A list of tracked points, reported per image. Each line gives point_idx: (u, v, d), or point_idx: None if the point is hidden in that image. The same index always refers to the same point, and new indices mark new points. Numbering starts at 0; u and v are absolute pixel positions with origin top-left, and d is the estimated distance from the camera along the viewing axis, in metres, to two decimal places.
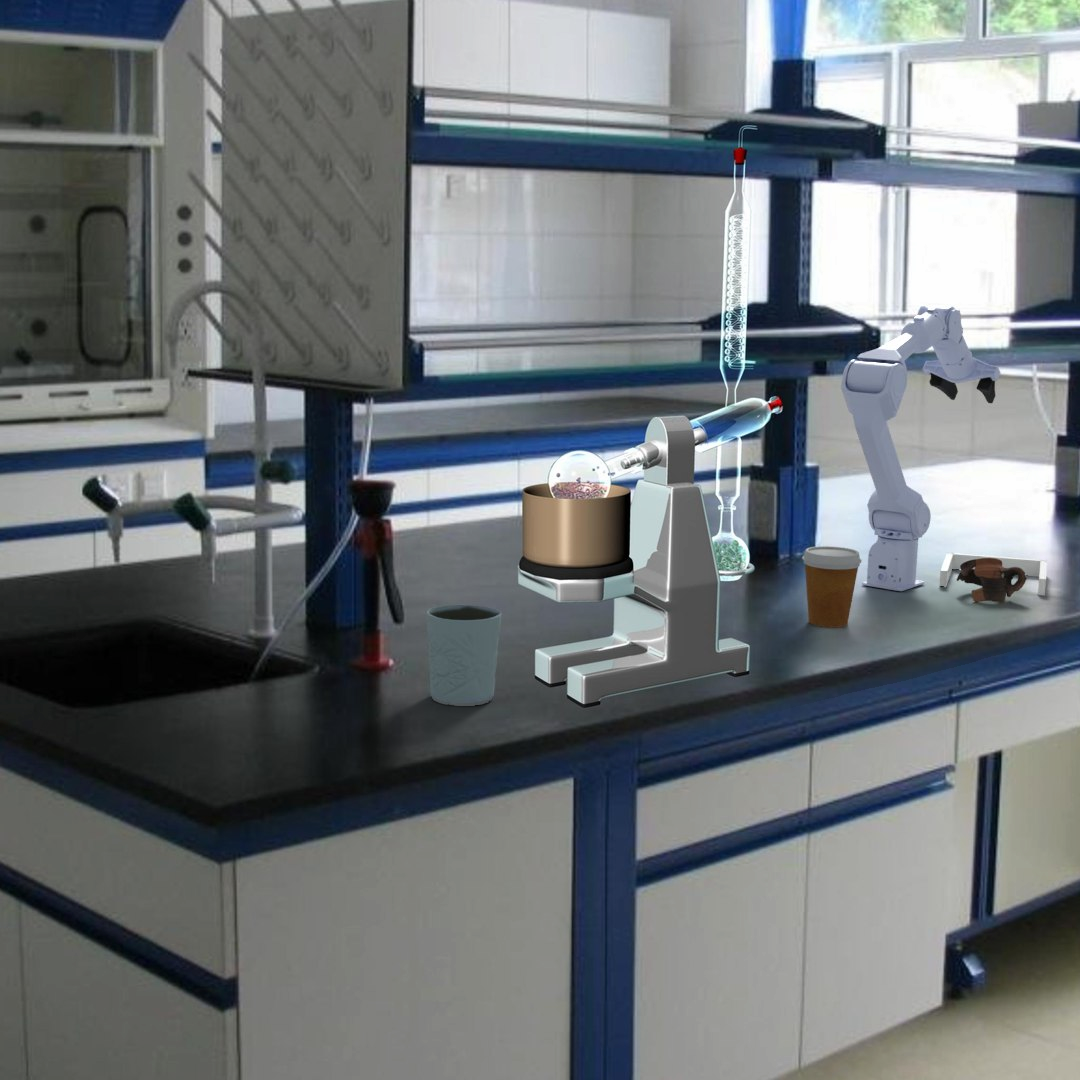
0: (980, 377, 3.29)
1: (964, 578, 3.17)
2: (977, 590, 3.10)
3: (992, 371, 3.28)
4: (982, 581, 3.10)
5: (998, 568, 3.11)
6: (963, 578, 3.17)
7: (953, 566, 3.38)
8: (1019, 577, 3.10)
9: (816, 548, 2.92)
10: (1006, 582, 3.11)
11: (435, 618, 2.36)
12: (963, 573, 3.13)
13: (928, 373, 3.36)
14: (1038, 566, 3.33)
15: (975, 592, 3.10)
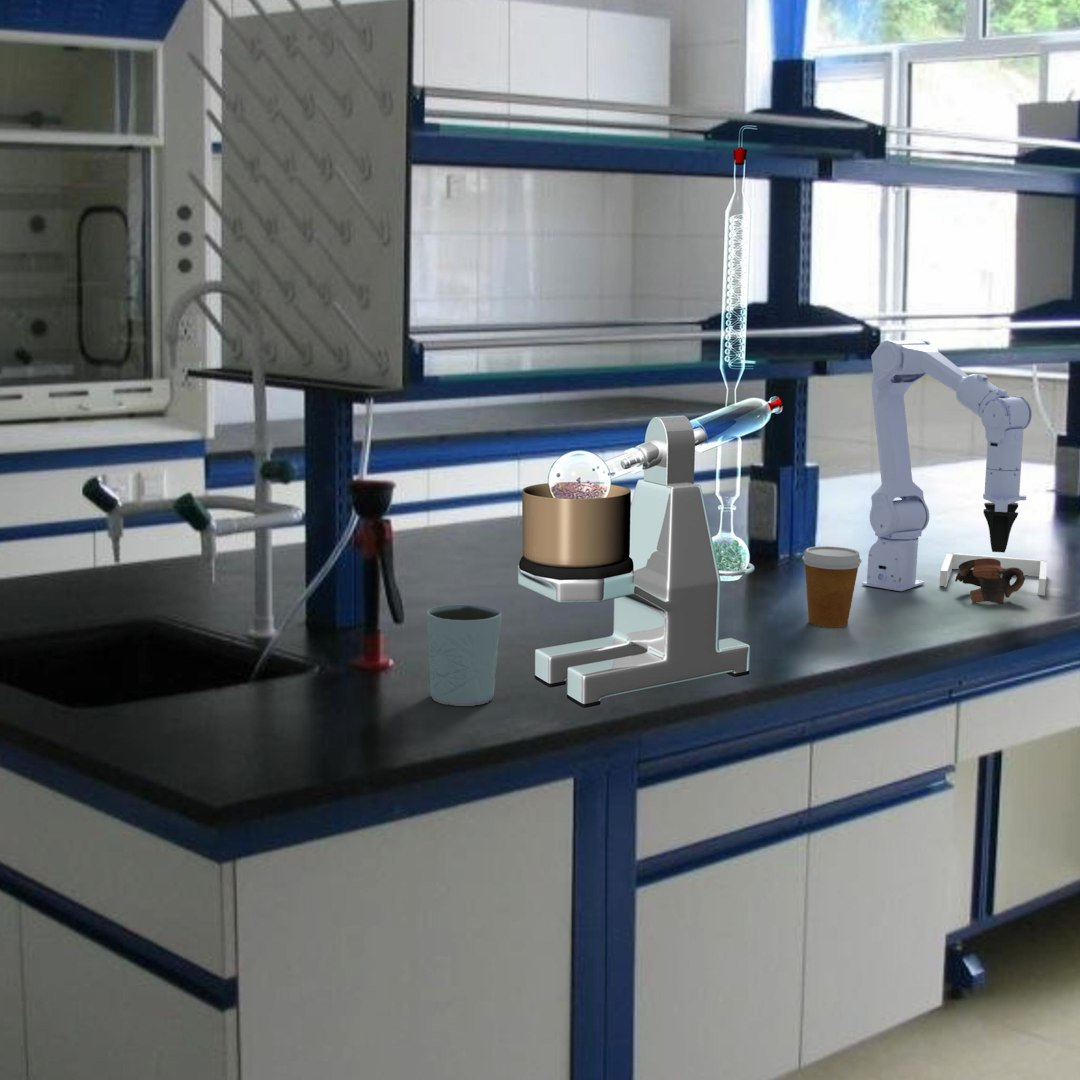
0: (991, 500, 2.97)
1: (962, 579, 3.17)
2: (976, 591, 3.10)
3: None
4: (981, 582, 3.10)
5: (997, 568, 3.11)
6: (961, 579, 3.17)
7: (953, 566, 3.38)
8: (1018, 577, 3.10)
9: (816, 548, 2.92)
10: (1005, 583, 3.10)
11: (435, 618, 2.36)
12: (961, 574, 3.12)
13: None
14: (1038, 566, 3.33)
15: (973, 593, 3.10)
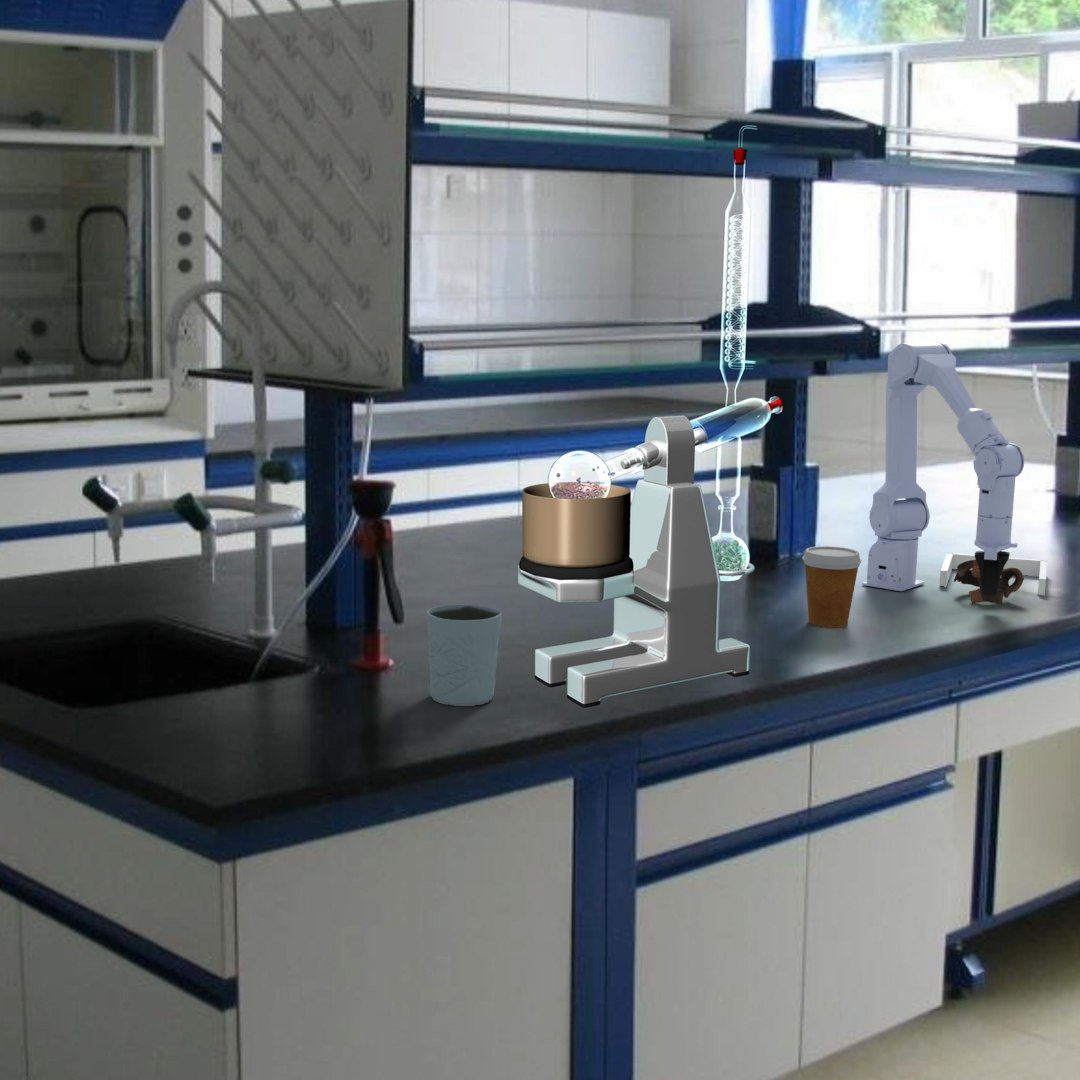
0: (981, 547, 2.98)
1: (961, 579, 3.17)
2: (974, 591, 3.09)
3: None
4: (979, 582, 3.09)
5: None
6: (960, 579, 3.16)
7: (953, 566, 3.38)
8: (1017, 577, 3.10)
9: (816, 548, 2.92)
10: (1003, 583, 3.10)
11: (435, 618, 2.36)
12: (960, 574, 3.12)
13: None
14: (1038, 566, 3.33)
15: (972, 593, 3.09)
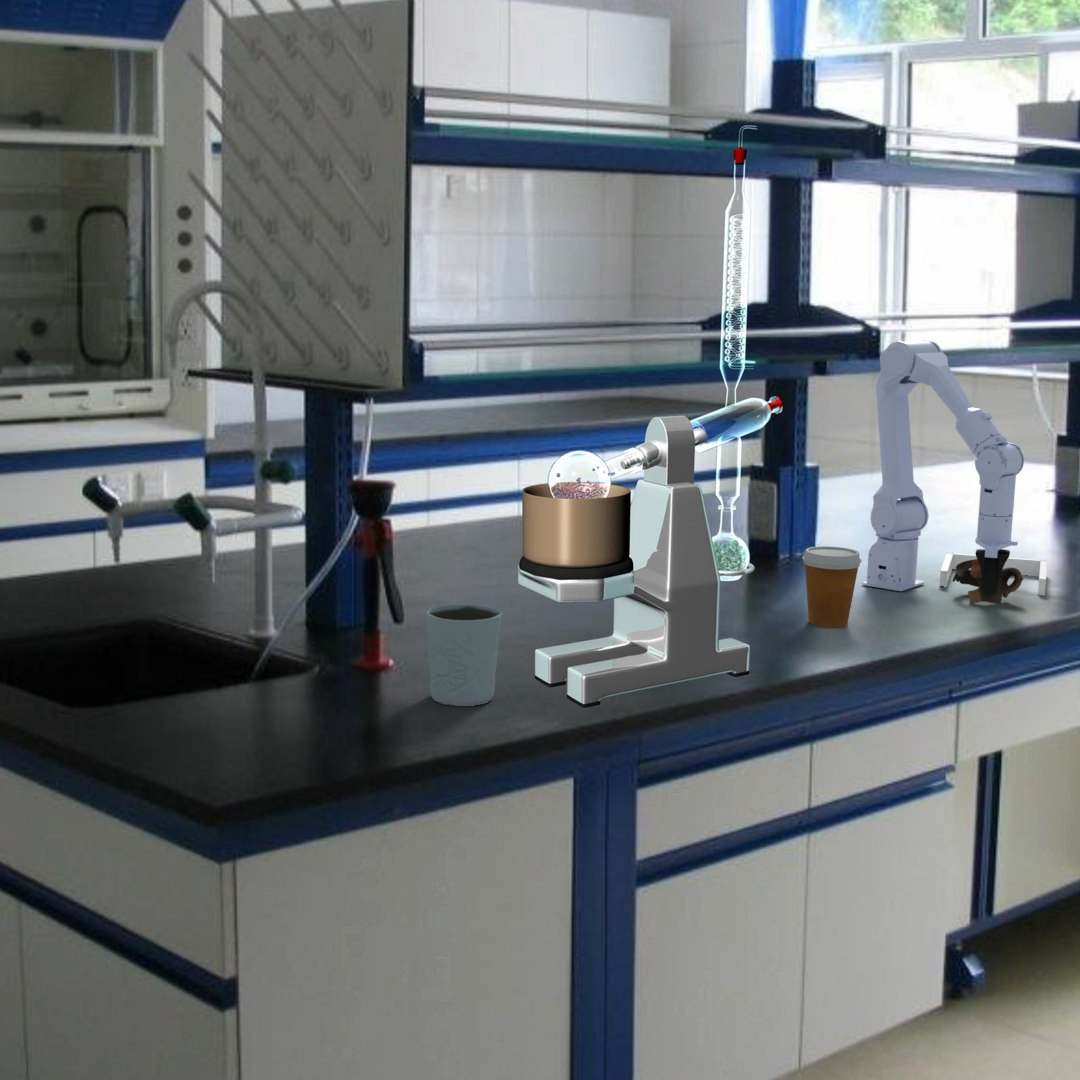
0: (982, 545, 3.02)
1: (960, 579, 3.16)
2: (973, 591, 3.09)
3: None
4: (978, 582, 3.09)
5: None
6: (959, 579, 3.16)
7: (953, 566, 3.38)
8: (1016, 577, 3.09)
9: (816, 548, 2.92)
10: (1002, 583, 3.10)
11: (435, 618, 2.36)
12: (959, 574, 3.12)
13: None
14: (1038, 566, 3.33)
15: (971, 593, 3.09)
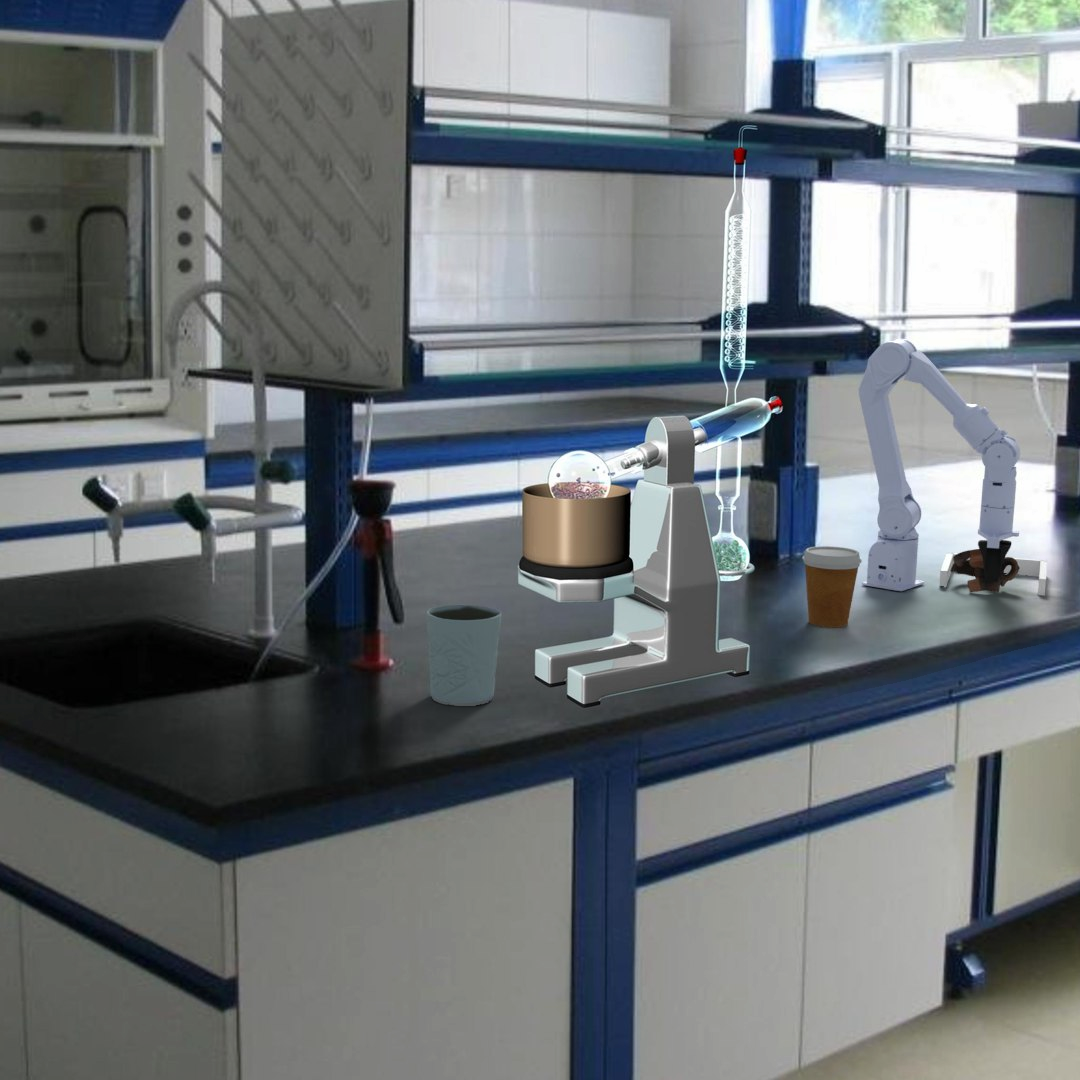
0: (984, 536, 3.11)
1: (956, 569, 3.25)
2: (973, 580, 3.18)
3: (992, 537, 3.09)
4: (978, 571, 3.17)
5: None
6: (956, 569, 3.25)
7: None
8: (1013, 566, 3.18)
9: (816, 548, 2.92)
10: None
11: (435, 618, 2.36)
12: (958, 564, 3.20)
13: None
14: (1038, 566, 3.33)
15: (971, 583, 3.18)
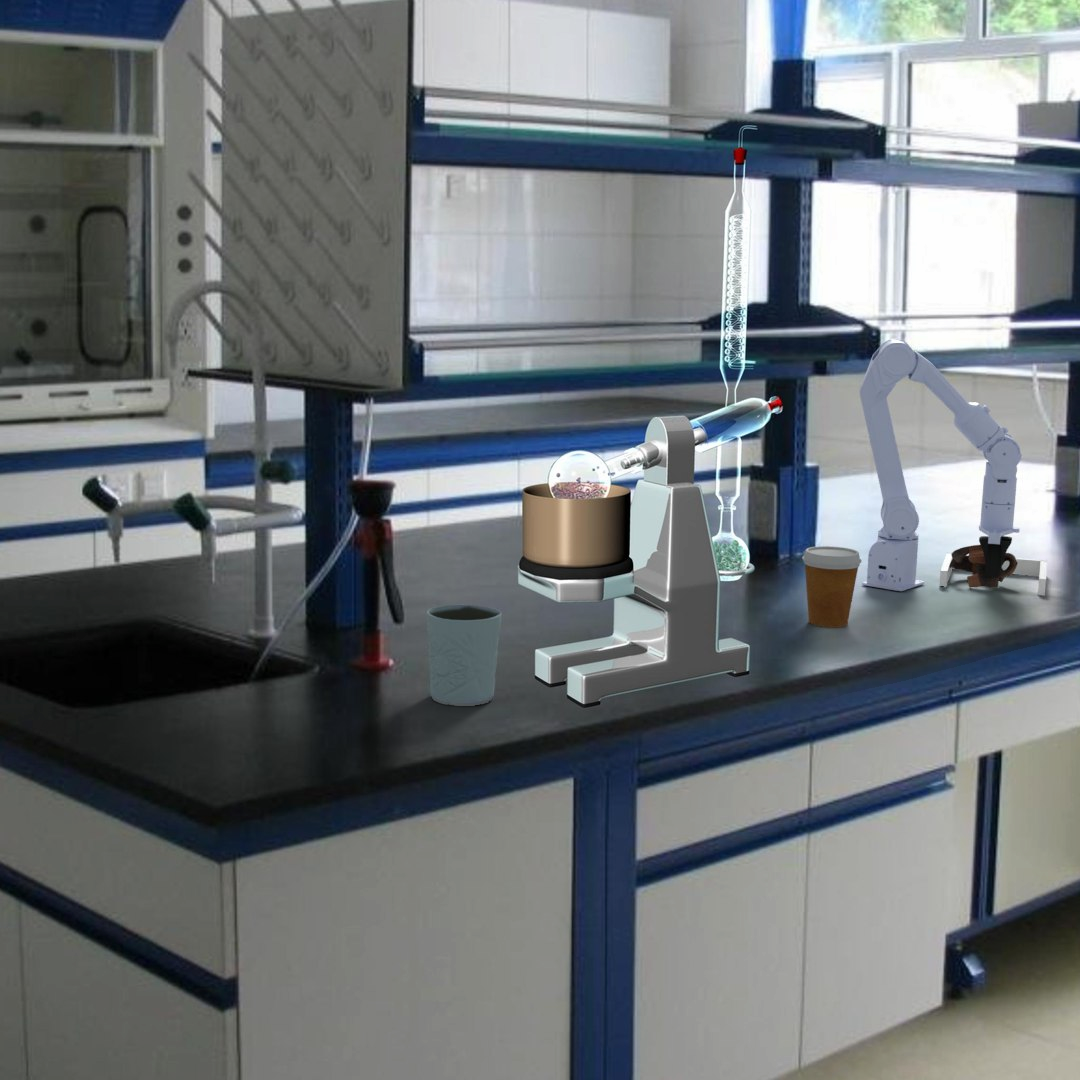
0: (986, 532, 3.15)
1: (955, 565, 3.28)
2: (973, 576, 3.21)
3: (993, 533, 3.12)
4: (977, 567, 3.21)
5: None
6: (954, 565, 3.28)
7: None
8: (1011, 562, 3.23)
9: (816, 548, 2.92)
10: None
11: (435, 618, 2.36)
12: (957, 560, 3.24)
13: None
14: (1038, 566, 3.33)
15: (970, 578, 3.21)
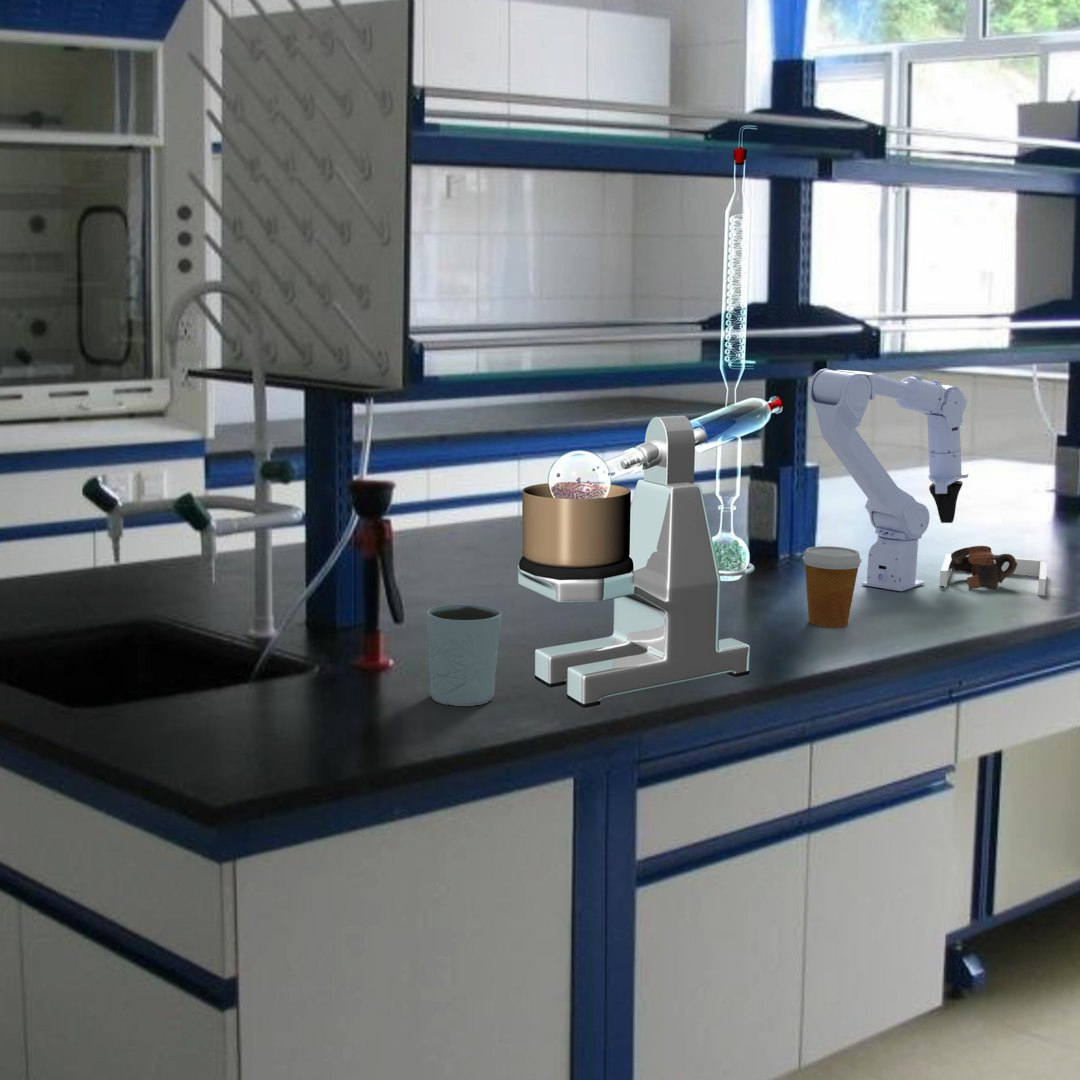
0: (933, 482, 3.22)
1: (954, 566, 3.28)
2: (972, 577, 3.21)
3: (940, 483, 3.19)
4: (977, 568, 3.21)
5: (990, 555, 3.23)
6: (953, 566, 3.28)
7: None
8: (1011, 563, 3.22)
9: (816, 548, 2.92)
10: (998, 569, 3.23)
11: (435, 618, 2.36)
12: (957, 561, 3.24)
13: None
14: (1038, 566, 3.33)
15: (970, 580, 3.21)
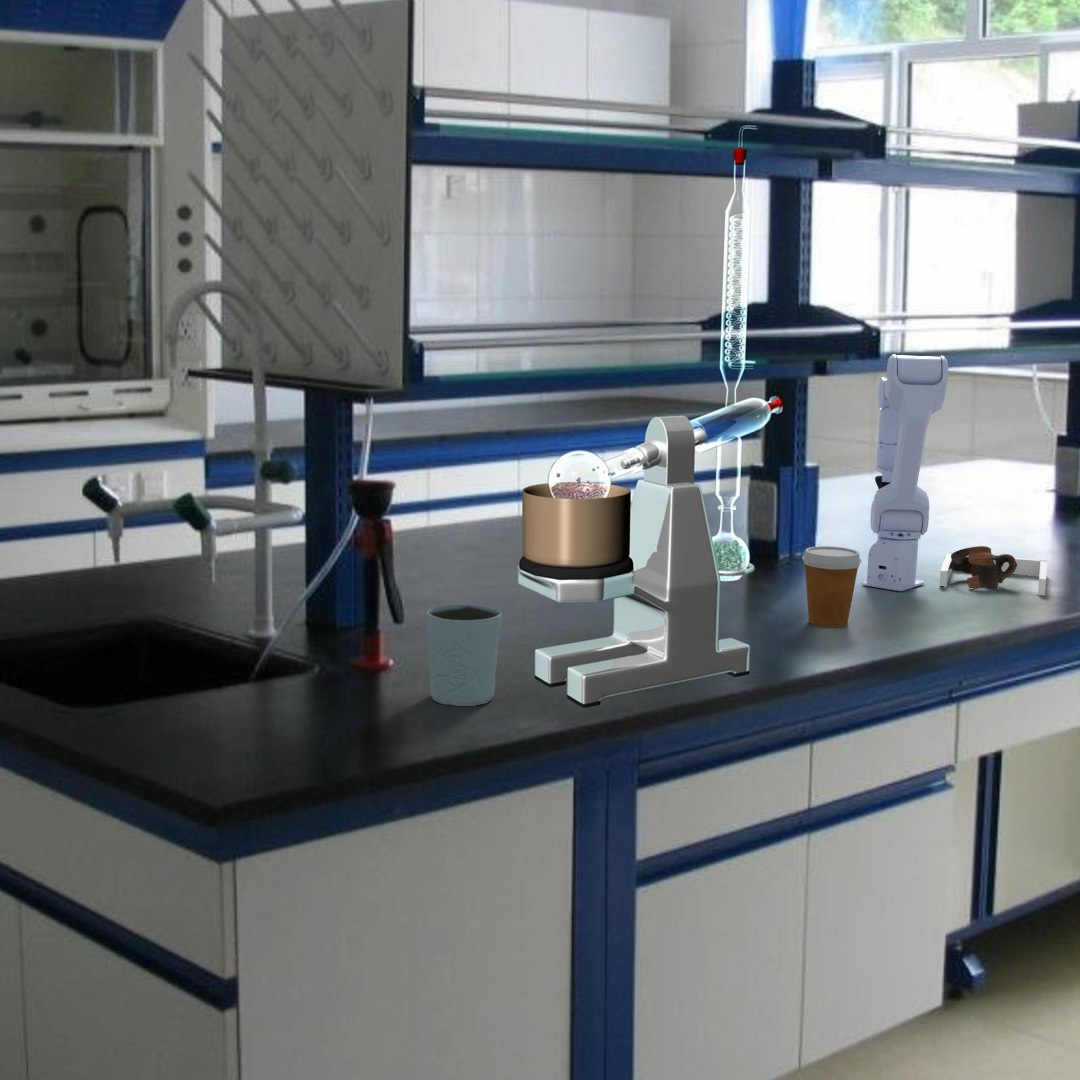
0: (880, 471, 3.30)
1: (954, 566, 3.28)
2: (973, 578, 3.21)
3: (887, 472, 3.28)
4: (977, 569, 3.21)
5: (990, 556, 3.22)
6: (953, 566, 3.27)
7: None
8: (1011, 563, 3.22)
9: (816, 548, 2.92)
10: (998, 569, 3.22)
11: (435, 618, 2.36)
12: (957, 562, 3.23)
13: None
14: (1038, 566, 3.33)
15: (970, 580, 3.21)
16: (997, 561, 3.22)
